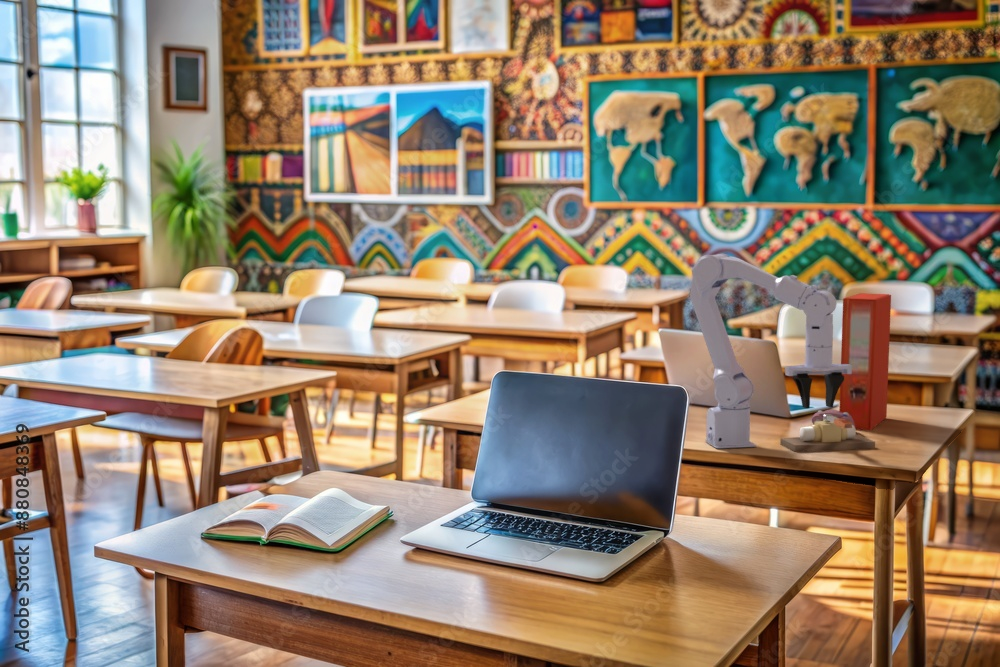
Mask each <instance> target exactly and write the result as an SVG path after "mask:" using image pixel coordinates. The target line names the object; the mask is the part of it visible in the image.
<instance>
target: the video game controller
mask: <svg viewBox="0 0 1000 667" xmlns="http://www.w3.org/2000/svg"><path fill="white" fill-rule="evenodd" d="M825 414H830V415H832V416H834V417H837V418H839V419H841V418H842V419H844V420H847V421H849V422H852V425H853V426H854V427H855V424H854V421H853V419H852V417H851V416H850V415H849V414H848V413H847V412H844V413H842V412H840V411H839V410H836V409H826V410H824V411H823V410H821V409H820V410H818V411H817V412H815V413H814V414H813V415H812V418H811V423H812V425H814V422H816V421H823V415H825Z"/></svg>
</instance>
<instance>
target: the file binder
mask: <svg viewBox="0 0 1000 667" xmlns="http://www.w3.org/2000/svg"><path fill="white" fill-rule="evenodd" d="M891 305H892V294H888V293H887V294H886V293H861V292H860V293H857V294H853V295H849V296H848V297H847V296H846V297H844V298H842V319H841V321H842V323H841V326H842V327H841V352H840V353H841V355H840V357H841V358H840V364H849V365H852V374H842V375H843V376H844V381H843V382H842V384H841V386H840V388H839V410H838V411H840V412H842V413H844V412H847V413H848V414H849V415H850V416H851V417H852V419H853V421H854V424H855V430H865V431H866V430H867V431H871V430H873V429H874V428H875V427H876V426H878V425H879V424H880V423H882V422H883V421H884V420H885V419H886V418H887V413H888V385H889V359H890V338H891V337H890V332H891V331H890V330H891V313H892V312H891V307H892V306H891Z"/></svg>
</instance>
